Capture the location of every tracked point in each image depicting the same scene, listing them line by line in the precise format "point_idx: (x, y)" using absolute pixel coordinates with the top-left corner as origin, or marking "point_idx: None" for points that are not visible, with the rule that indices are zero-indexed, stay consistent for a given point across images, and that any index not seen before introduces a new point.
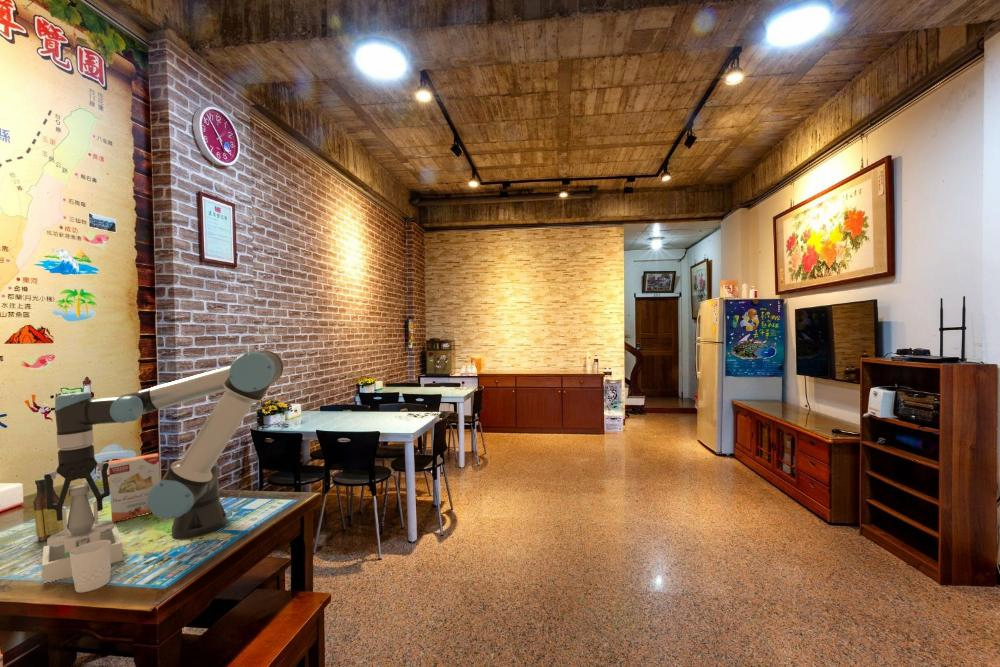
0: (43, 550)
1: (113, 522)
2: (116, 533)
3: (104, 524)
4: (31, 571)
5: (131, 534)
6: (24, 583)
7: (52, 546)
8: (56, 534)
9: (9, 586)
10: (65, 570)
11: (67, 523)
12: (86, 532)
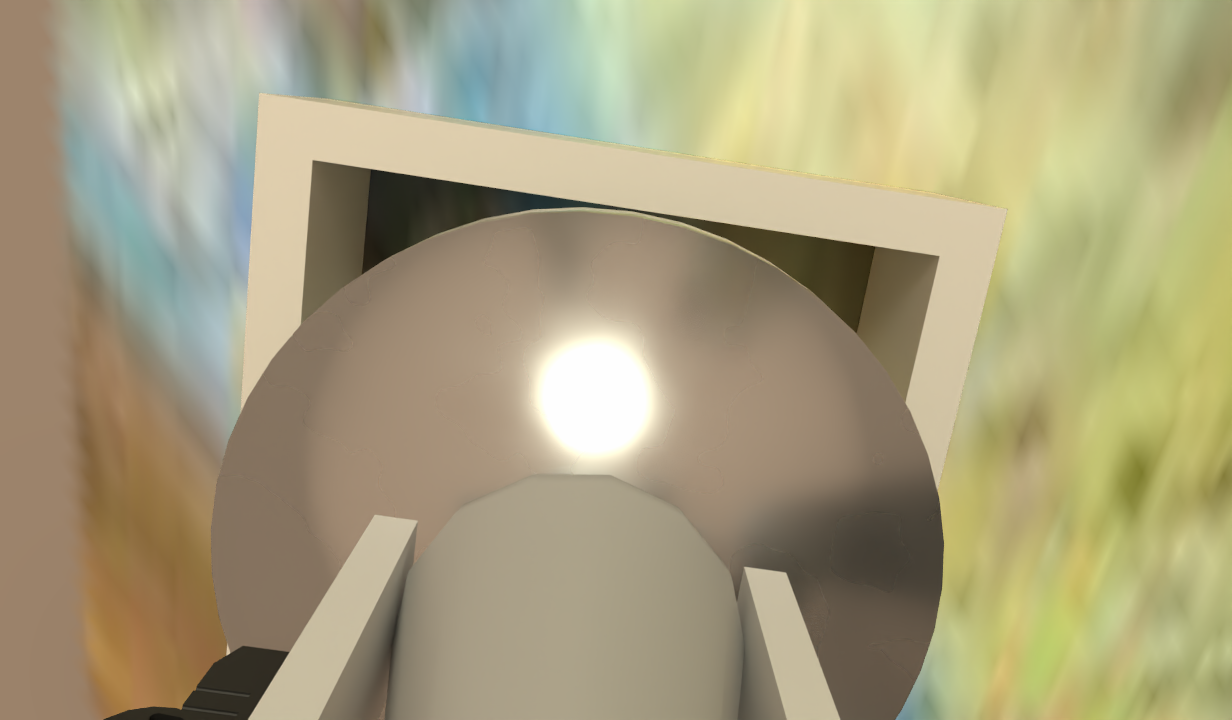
0: (251, 264)
1: (936, 611)
2: None
3: (837, 584)
4: (226, 204)
5: (1111, 51)
6: (176, 467)
7: None
8: (321, 379)
9: (81, 415)
10: None
11: (390, 671)
12: None
